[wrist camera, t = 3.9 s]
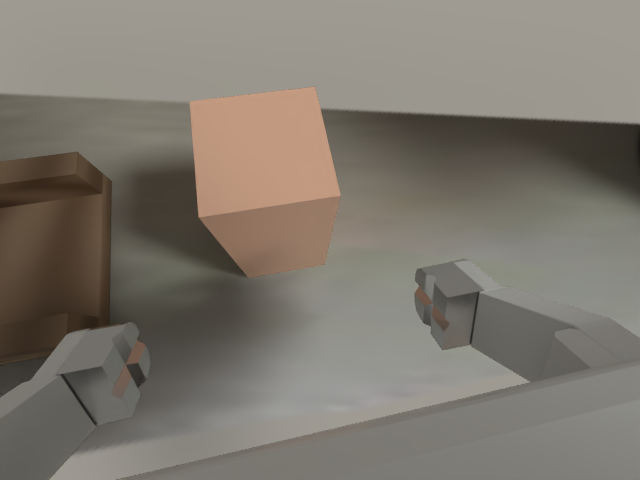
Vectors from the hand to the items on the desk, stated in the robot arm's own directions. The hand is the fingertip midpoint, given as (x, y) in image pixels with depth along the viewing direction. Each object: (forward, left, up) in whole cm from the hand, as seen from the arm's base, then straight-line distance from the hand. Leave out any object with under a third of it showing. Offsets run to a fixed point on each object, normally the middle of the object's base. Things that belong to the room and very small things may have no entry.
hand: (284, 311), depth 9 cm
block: (0, -6, -11) cm, 12 cm away
